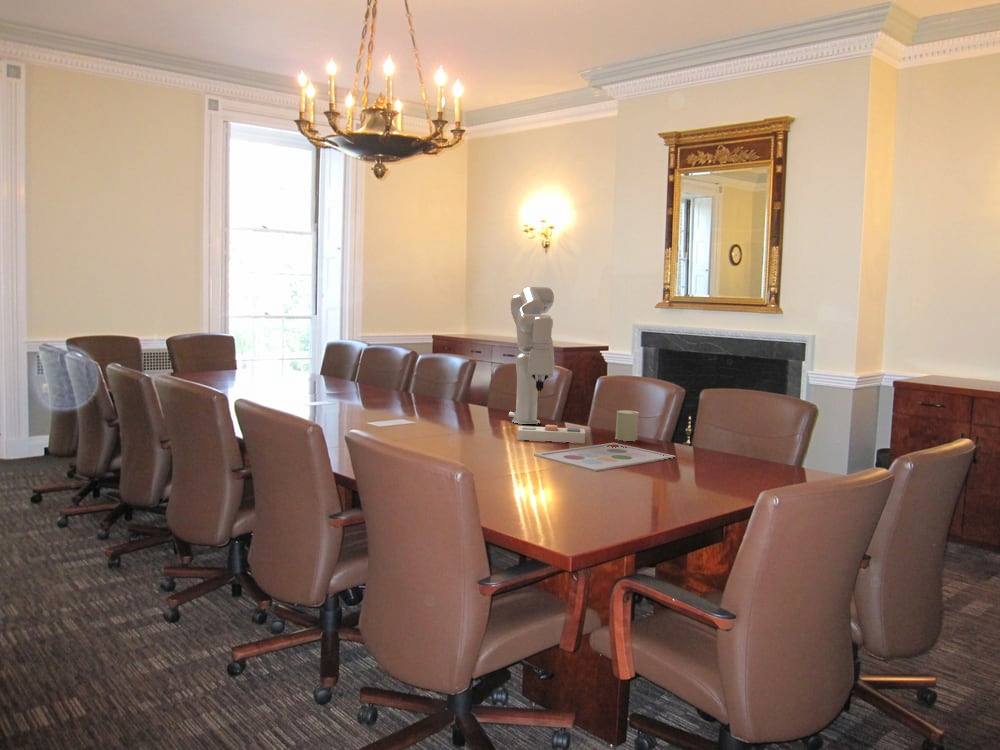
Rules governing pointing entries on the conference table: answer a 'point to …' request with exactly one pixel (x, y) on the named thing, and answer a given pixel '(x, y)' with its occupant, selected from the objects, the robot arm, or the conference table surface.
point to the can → (627, 425)
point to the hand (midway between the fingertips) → (539, 390)
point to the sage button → (528, 427)
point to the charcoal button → (573, 430)
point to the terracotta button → (551, 427)
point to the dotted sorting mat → (604, 456)
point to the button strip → (551, 435)
